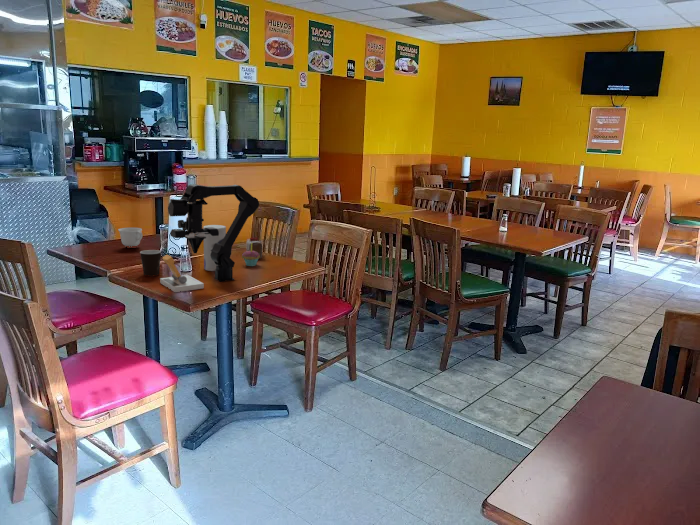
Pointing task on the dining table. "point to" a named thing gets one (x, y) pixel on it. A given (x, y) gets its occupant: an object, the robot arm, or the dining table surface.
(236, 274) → the dining table surface
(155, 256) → the coffee mug
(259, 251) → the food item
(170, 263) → the lever
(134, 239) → the teacup
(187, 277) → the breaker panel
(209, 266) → the container
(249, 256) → the cupcake
